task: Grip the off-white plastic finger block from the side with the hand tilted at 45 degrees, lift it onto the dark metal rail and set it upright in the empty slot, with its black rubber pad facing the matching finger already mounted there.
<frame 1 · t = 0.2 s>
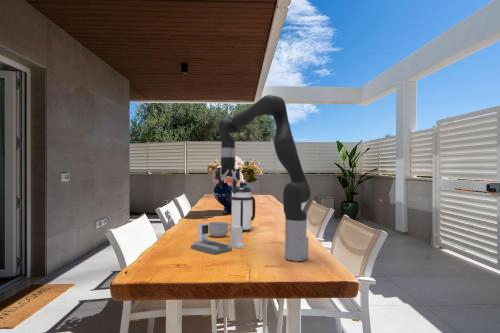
hand: (227, 188, 182), 28 cm above the table, tool pointing down, fingers open, 8 cm apart
teacup: (220, 236, 199), on the table
coffee press: (242, 230, 218), on the table
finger: (236, 246, 174), on the table
rail: (211, 249, 168), on the table
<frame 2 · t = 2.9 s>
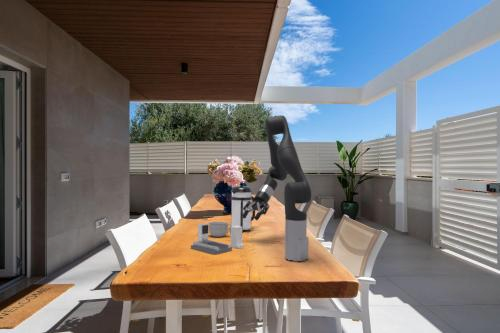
hand: (249, 218, 181), 13 cm above the table, tool tilted 45°, fingers open, 8 cm apart
nothing on the table moved.
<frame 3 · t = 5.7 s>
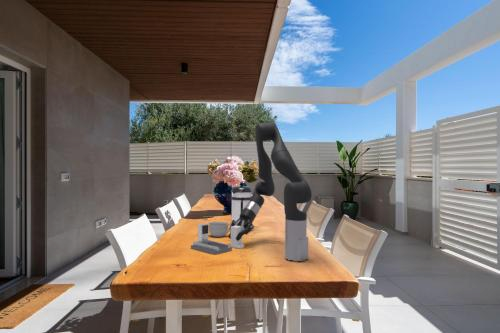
hand: (233, 238, 173), 4 cm above the table, tool tilted 45°, fingers closed on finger, 4 cm apart
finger: (236, 246, 174), on the table, touching gripper
everything else where it was.
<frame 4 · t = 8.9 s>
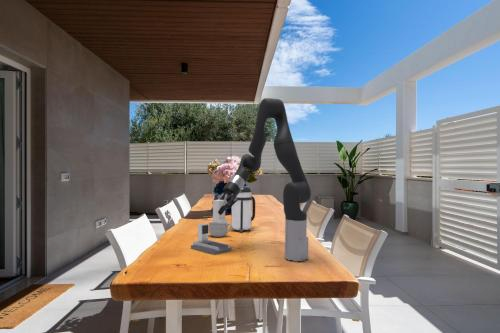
hand: (215, 213, 164), 18 cm above the table, tool tilted 45°, fingers closed on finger, 4 cm apart
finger: (218, 221, 165), point 14 cm above the table, touching gripper
everything else where it was.
when the fingers open (7 cm above the table, at t = 12.1 s): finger drops 1 cm, resting on rail.
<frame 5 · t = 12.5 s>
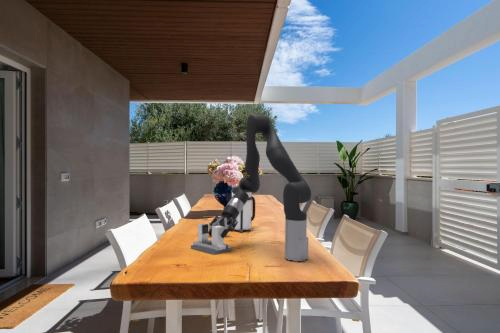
hand: (215, 235, 164), 7 cm above the table, tool tilted 45°, fingers open, 8 cm apart
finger: (217, 248, 165), point 1 cm above the table, touching rail
everything else where it was.
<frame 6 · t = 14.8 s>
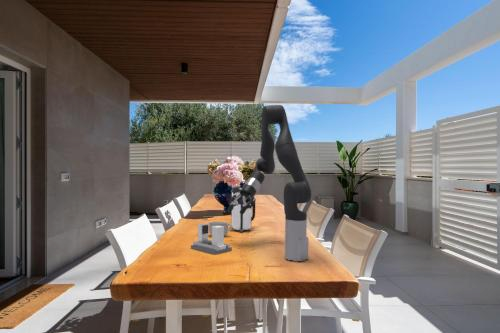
hand: (234, 212, 173), 17 cm above the table, tool tilted 45°, fingers open, 8 cm apart
nothing on the table moved.
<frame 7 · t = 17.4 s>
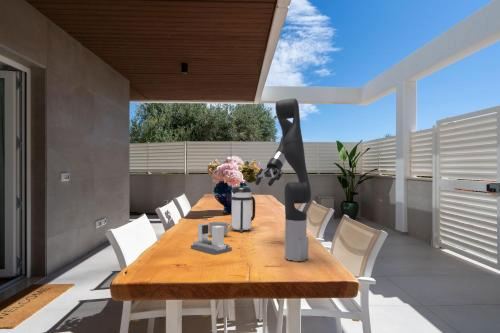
hand: (262, 184, 179), 31 cm above the table, tool tilted 45°, fingers open, 8 cm apart
nothing on the table moved.
at the end: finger 0.1 cm from the target spot on the rail, point 1.5 cm above the rail's base; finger tilted 0°; the gripper is holding nothing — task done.
